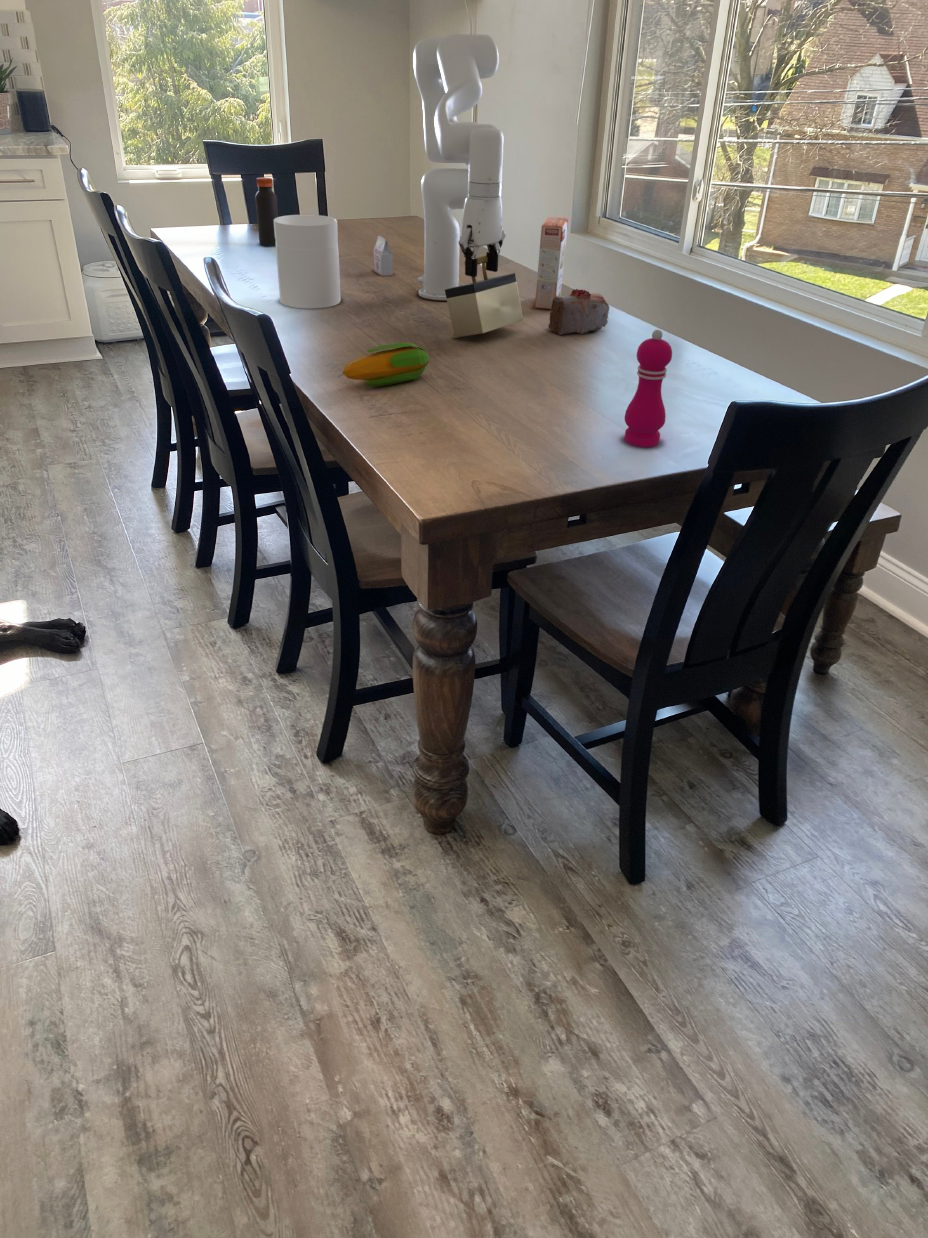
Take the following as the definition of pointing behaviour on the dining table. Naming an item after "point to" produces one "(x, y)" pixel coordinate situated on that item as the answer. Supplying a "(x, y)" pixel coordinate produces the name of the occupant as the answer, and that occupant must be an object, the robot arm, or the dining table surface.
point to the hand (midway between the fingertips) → (481, 272)
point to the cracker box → (551, 261)
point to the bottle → (266, 211)
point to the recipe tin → (484, 303)
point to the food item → (578, 312)
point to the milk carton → (382, 257)
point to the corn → (389, 365)
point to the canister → (307, 261)
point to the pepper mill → (648, 393)
